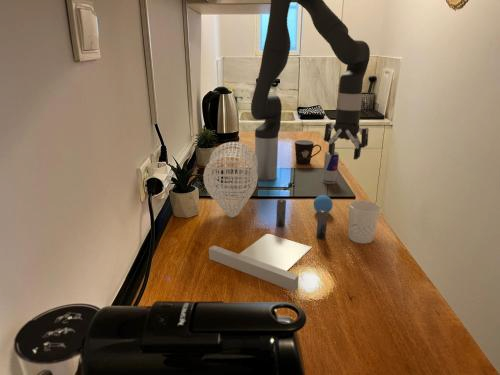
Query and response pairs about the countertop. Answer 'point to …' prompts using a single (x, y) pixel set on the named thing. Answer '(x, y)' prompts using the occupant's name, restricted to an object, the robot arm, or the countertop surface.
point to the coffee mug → (304, 151)
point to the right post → (321, 224)
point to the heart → (212, 178)
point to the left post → (281, 213)
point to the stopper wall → (254, 267)
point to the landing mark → (276, 251)
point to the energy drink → (330, 168)
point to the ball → (323, 203)
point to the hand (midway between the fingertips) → (343, 156)
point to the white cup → (362, 221)
